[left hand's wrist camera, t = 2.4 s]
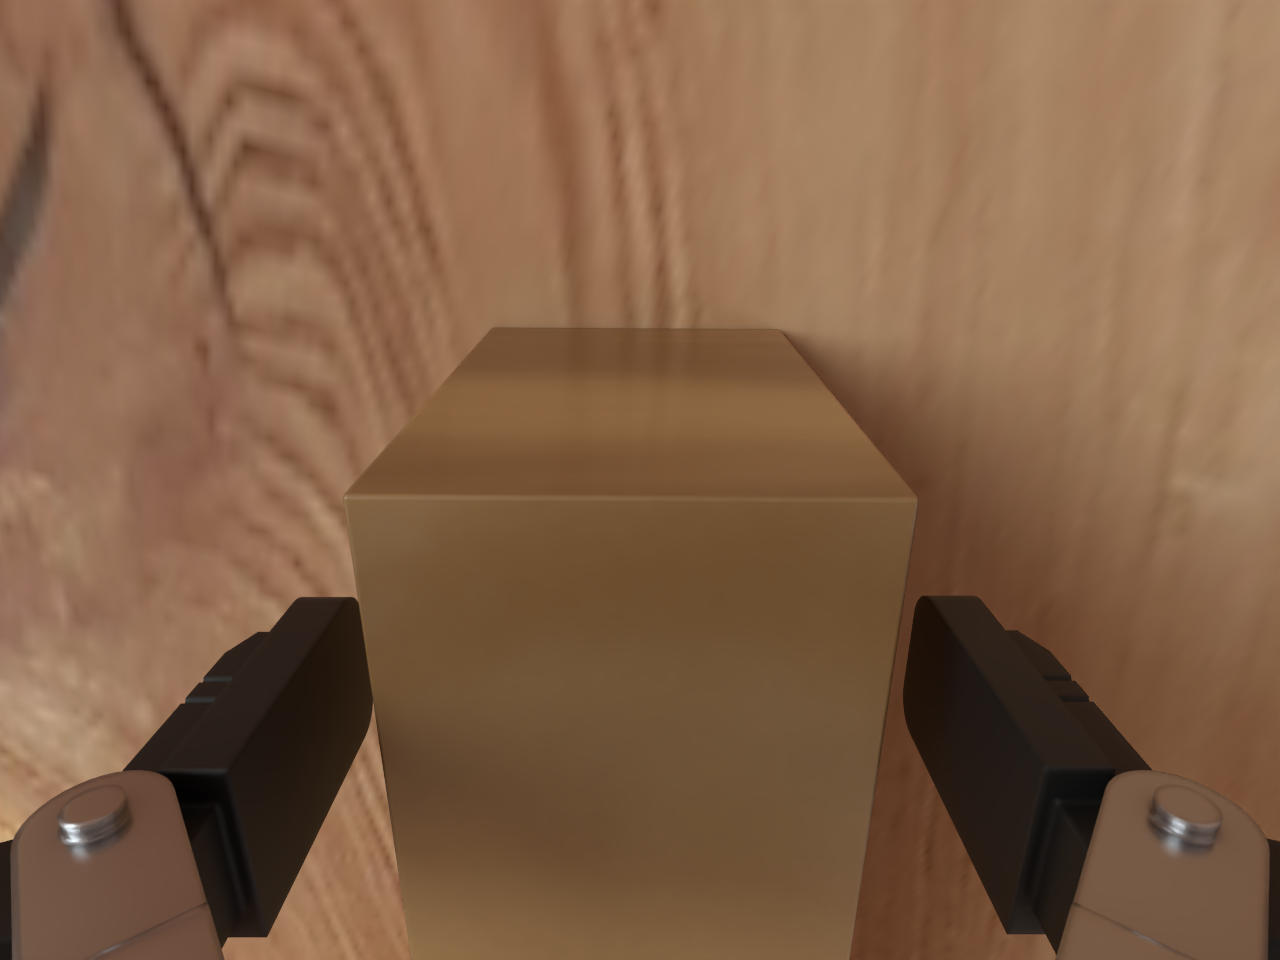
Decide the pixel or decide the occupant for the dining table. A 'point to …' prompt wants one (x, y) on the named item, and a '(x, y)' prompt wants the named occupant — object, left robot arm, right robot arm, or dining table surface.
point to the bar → (631, 648)
